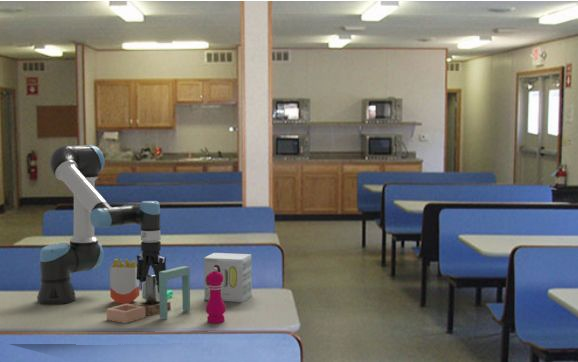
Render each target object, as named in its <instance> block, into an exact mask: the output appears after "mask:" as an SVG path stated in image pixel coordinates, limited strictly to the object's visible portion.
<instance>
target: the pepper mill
mask: <svg viewBox="0 0 578 362" xmlns="http://www.w3.org/2000/svg"><path fill="white" fill-rule="evenodd" d="M217 270H218V269H217V268H216V267H214V268H213V272H210V273H209V274H208V276H207V281H208V283H209V289H210V298H209V300H207V303H206V307H205V312H206V314H207V315H208V316H206V317H207V319H206V320H207V321H206V322H208V323H210V324H221V323H224V322H225V315H224V314H225V312H226V310H227V309H226V304H225V301H223V300H222V297H221V289H222V284H221V283H222V282H223V279H224V278H223V275H222V273H220V272H218V271H217Z"/></svg>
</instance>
